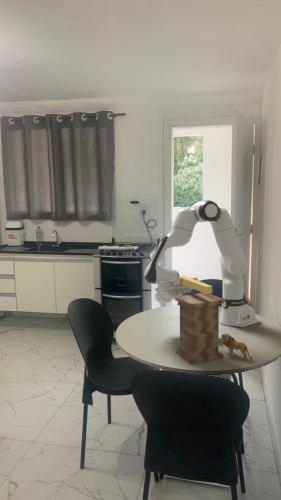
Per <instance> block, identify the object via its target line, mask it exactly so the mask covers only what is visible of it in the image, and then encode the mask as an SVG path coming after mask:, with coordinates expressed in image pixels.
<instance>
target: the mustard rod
mask: <svg viewBox="0 0 281 500" xmlns="http://www.w3.org/2000/svg"><path fill="white" fill-rule="evenodd" d="M180 278H181V279H182V283H181V284H183V285H185V286H188V287H190V288H193V289H192V290H195V291H197V292H199V293H205V294H213V285H210V284H207V283H204V282H202V281H199V280H198V281H197V280H194V279H192V278H193V277H190V278H189V277H188V276H185V275H179V276H178V279H180Z"/></svg>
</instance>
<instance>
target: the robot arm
mask: <svg viewBox="0 0 281 500" xmlns="http://www.w3.org/2000/svg"><path fill="white" fill-rule="evenodd" d="M198 222H199V223H206V222H209V224H210V225H211V228H212V231H213V234H214V238H215V242H216V245H217V247H218V250H219V252H220V254H221V255H220V258H219V262H220V271H221V273H220V274H221V278H222V296H221V299H224V303H222V304H221V311H220V312H221V314H220V317H219V323H220V324H221V325H225V326H230V327H238V328H239V327H240V328H244V327H248V326H251V325H255V324H258V323H260V322H261V320H260V318H259V317H257V314H256V310H255V309H254V308H253V307H251V306H250V305H248V304H247V303H249V302H250V298H249V297H244V281H243V276H242V275H243V274H245V273H246V272H247V270H248V267H249V263H248V260H247V259H246V257H245V254H244V251H243V248H242V246H241V245H240V242H239V240H238V237H237V233H236V229H235V226H234V223H233V220H232V217H231V215H230V212H229V211H228V209H226V208H223V207H219V205H218V204H217V203H216V202H215V201H212V200H199V201H196V202H194V203H192V204H191V205H190V207H188V208H182V209H179V210H178V212H177V214H176V216H175V219H174V221H173V223H172V227H171V230H169V233H167V234H166V235H163V237H161V239H160V241H159V243H158V245H157V246H156V248H155V251H154V253H153V255H152V257H151V259H150V260H149V263H148V264H147V266H146V267H145V270H144V272H143V278H144V279H145V281H146V282H147V283H148V284H154V285H157V287H156V288H155V289H154V291H155V293H154V298H155V300H156V301H157V302H158V303H160V304H162V305H165V304H168V303H171V302H172V301H174V300H175V296H182V295H188V294H189V293H190V294H191V292H192V291H193V290H194V289H193V288H190V287H188V286H185V285H183V284H181V283H182V279H181V278H180V279H178V276H180V273H179V272H178V270H176V269H172V268H169V267H166V266H161V265H160V262H161V260H162V258H163V255H164V253H165V252H166V251H167V250H168V249H171V248H177V247H183V246H186V245H188V244H189V243H190V241H191V239H192V236H193V233H194V229H195V227H196V225H197V223H198ZM189 278H192V279H194V280H197V281H199V279H198V277H189ZM246 302H247V303H246Z"/></svg>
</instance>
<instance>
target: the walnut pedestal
mask: <svg viewBox="0 0 281 500" xmlns="http://www.w3.org/2000/svg"><path fill="white" fill-rule="evenodd" d="M174 300H175V301H176V302H178V303H179V348H175V349H174V351H175V354H177V355H178V356H180V357H181V358H182V359H184V361H186V362H187V363H189V364H190V365H195V364H199V363H204V362H208V361H214V360H217V359H223V358H224V354H223V352H221V351H219V331H220V329H219V328H220V327H219V326H220V325H219V323H220V322H219V320H220V317H219V316H220V315H219V314H220V313H219V311H220V310H219V309H220V307H219V305H220V304H221V305H222V303H224V299H222V297H219V296H216V295H213V294H212V293H210V294H205V293H202V292H198V293H190V294H183V295H180V296H175V298H174Z"/></svg>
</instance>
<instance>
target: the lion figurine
mask: <svg viewBox="0 0 281 500" xmlns="http://www.w3.org/2000/svg"><path fill="white" fill-rule="evenodd" d="M220 342H221V344H223V345H224V346H225V348H228V352H229V353H227V355H228V356H232V354H233V353H234V350H236V351H239V352H241V354H242V357H244V358H243V359H244V361H247V360H248V358H249V359H251V360H253V358H254V357H252V356H250V353H249V349H248V345H247V344H246V343H244V342H241V341H237V340H236V339H235V338H234V337H233V336H231V335H230V334H228V333H223V334H221V339H220ZM247 355H248V356H247Z"/></svg>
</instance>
